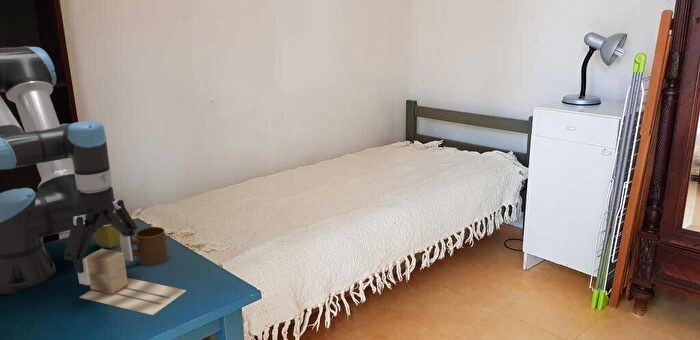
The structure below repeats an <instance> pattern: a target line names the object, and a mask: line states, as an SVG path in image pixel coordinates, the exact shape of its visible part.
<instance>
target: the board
mask: <svg viewBox="0 0 700 340" xmlns="http://www.w3.org/2000/svg"><path fill="white" fill-rule="evenodd" d="M127 282H128V286H127V287H126V288H124V289H123V290H121V291H119V292H118V293H116V294H115V295H108V294H104V293H100V292H95V291H91V290H89V291H87V292H86V293H84V294H82V295H80V296H79V298H80V299H84V300H88V301H92V302H97V303H100V304H101V303H102V304H107V305H110V306H114V307H118V308H121V309H126V310H131V311H134V312H138V313H142V314H146V315H147V314H148V315H151V316H154V315H155V314H156V313H158V312H159V311H161V310H162V309H163V308H165V307H166V306H168V305H169V304H171V302H173V301H174V300H176V299H177V298H179V297H180V296H181V295H183V294H184V293H186V291H187V290H186V289H182V288H177V287H172V286H167V285H163V284H159V283H155V282H149V281H145V280H144V281H143V280H139V279H135V278H130V277H127Z"/></svg>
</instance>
